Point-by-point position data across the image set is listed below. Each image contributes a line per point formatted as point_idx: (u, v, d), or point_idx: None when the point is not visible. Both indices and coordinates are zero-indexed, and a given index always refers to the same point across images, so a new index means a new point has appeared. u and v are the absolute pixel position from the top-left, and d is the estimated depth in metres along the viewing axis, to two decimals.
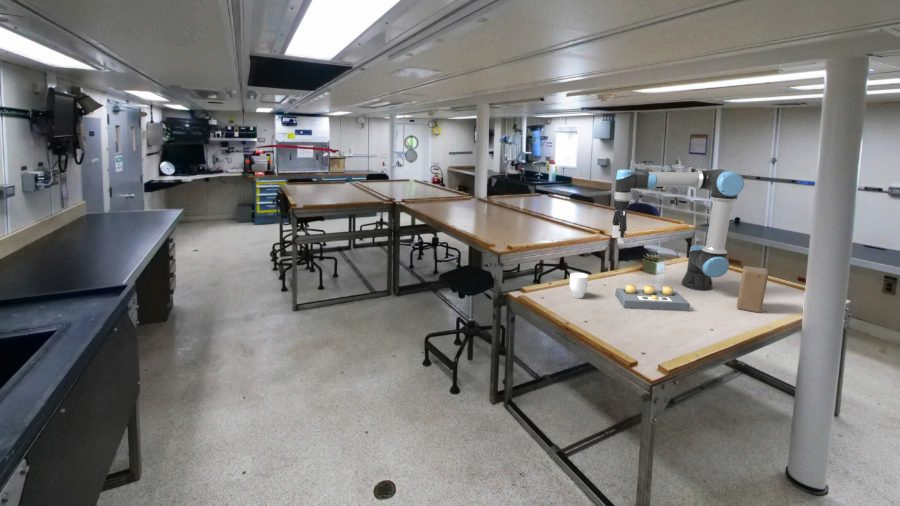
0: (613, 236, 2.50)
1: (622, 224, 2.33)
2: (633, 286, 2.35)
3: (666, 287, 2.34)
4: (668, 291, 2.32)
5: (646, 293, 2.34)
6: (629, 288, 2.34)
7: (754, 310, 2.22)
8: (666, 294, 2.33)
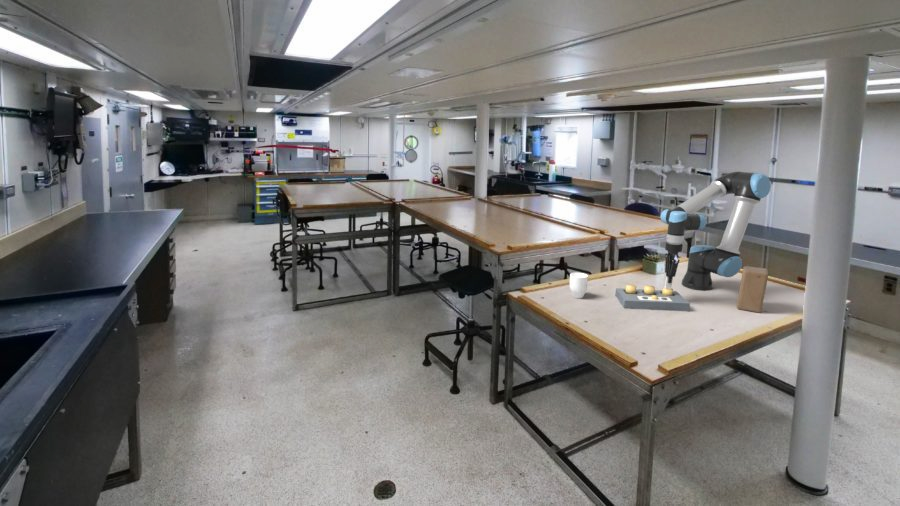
0: None
1: (672, 271, 2.27)
2: (633, 286, 2.35)
3: None
4: (668, 293, 2.32)
5: (646, 293, 2.34)
6: (629, 288, 2.34)
7: (754, 310, 2.22)
8: (666, 295, 2.33)
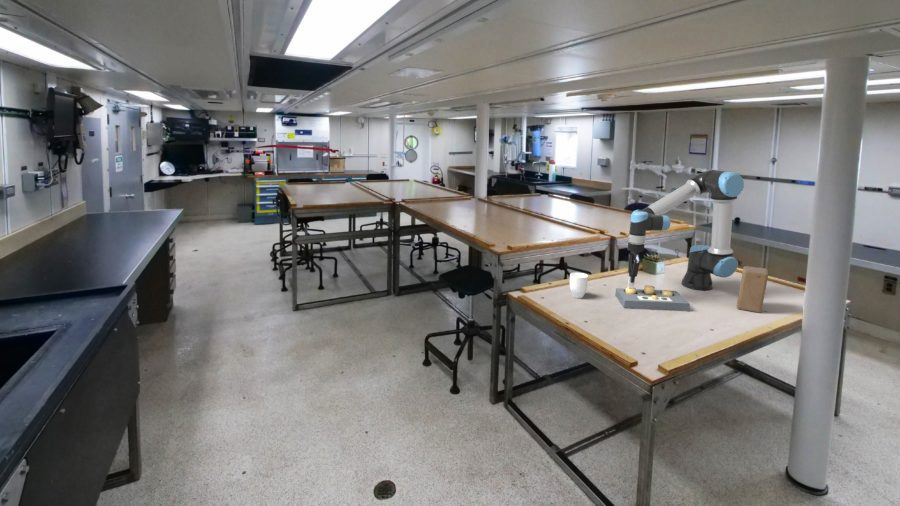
0: None
1: (633, 271, 2.29)
2: None
3: (665, 291, 2.35)
4: (668, 295, 2.32)
5: (646, 293, 2.34)
6: (629, 290, 2.34)
7: (754, 310, 2.22)
8: None
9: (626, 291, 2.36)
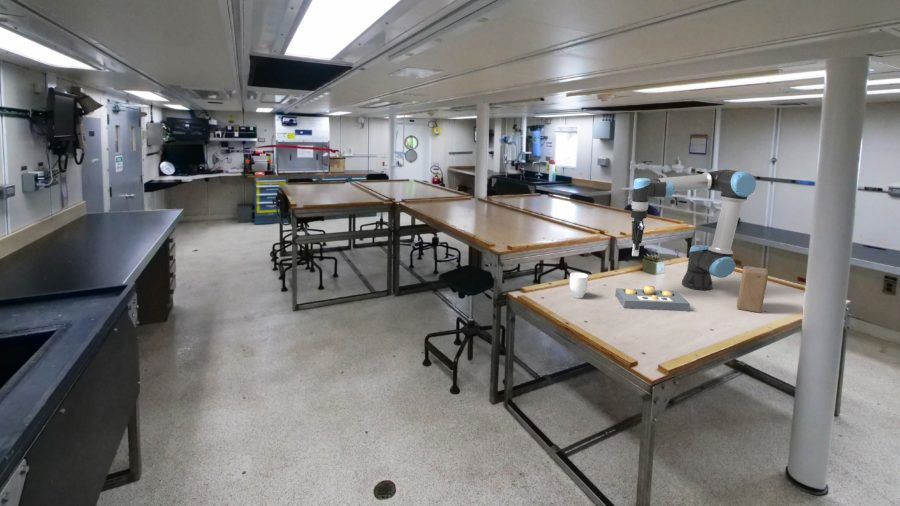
0: None
1: (638, 238, 2.30)
2: (633, 290, 2.36)
3: (665, 291, 2.35)
4: (668, 295, 2.32)
5: (646, 293, 2.34)
6: (629, 292, 2.35)
7: (754, 310, 2.22)
8: None
9: (626, 293, 2.36)
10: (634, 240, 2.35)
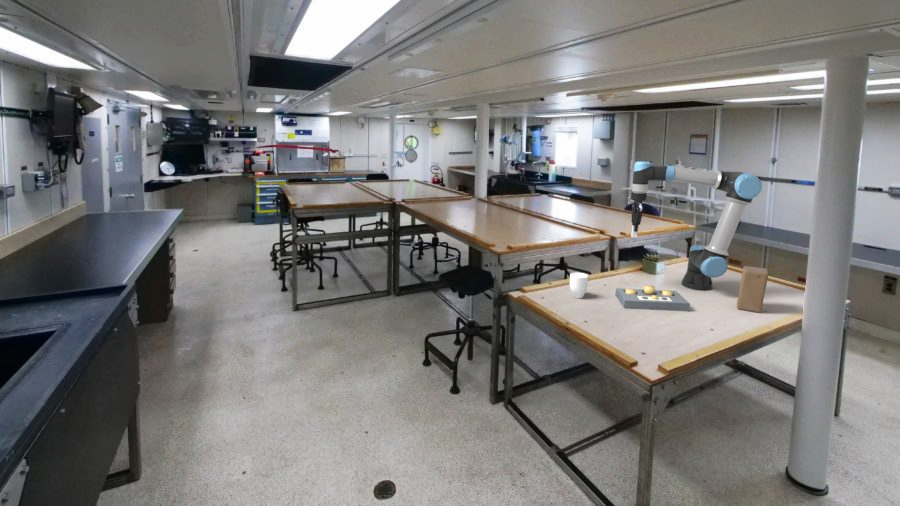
0: None
1: (637, 219, 2.37)
2: (633, 290, 2.36)
3: (665, 291, 2.35)
4: (668, 295, 2.32)
5: (646, 293, 2.34)
6: (629, 292, 2.35)
7: (754, 310, 2.22)
8: None
9: (626, 293, 2.36)
10: (633, 222, 2.43)
